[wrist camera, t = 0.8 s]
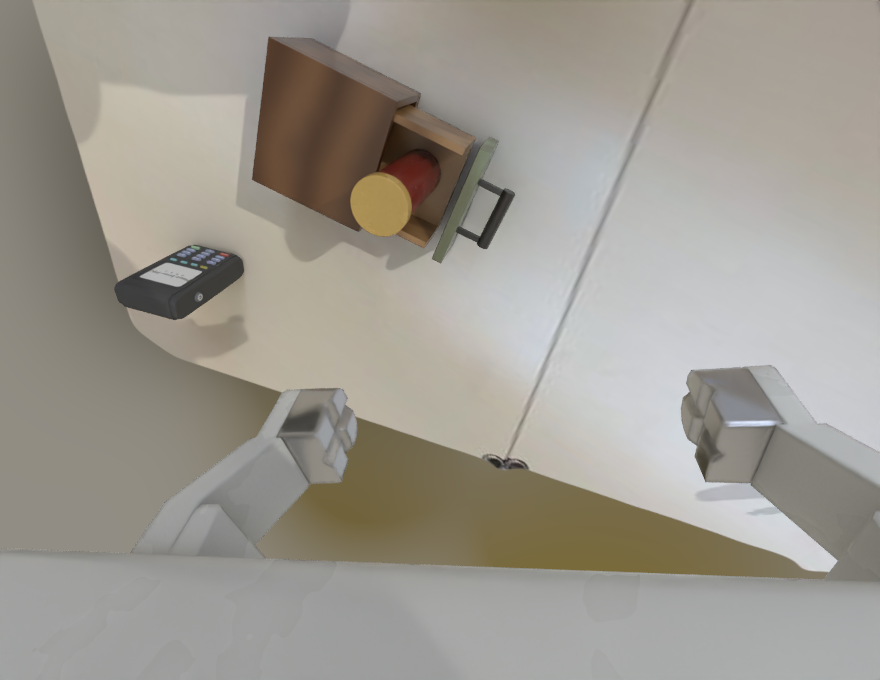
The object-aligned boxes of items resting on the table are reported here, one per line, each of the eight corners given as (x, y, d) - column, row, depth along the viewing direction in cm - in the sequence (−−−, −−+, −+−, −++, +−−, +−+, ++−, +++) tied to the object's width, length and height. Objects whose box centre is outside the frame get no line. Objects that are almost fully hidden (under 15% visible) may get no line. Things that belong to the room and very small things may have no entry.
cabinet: (421, 93, 48) (397, 101, 41) (383, 209, 57) (358, 232, 50) (311, 38, 48) (268, 36, 41) (290, 163, 57) (251, 179, 50)
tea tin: (395, 145, 50) (346, 173, 39) (443, 147, 49) (406, 176, 38) (398, 195, 53) (353, 234, 42) (443, 197, 52) (409, 239, 41)
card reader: (244, 253, 66) (173, 298, 54) (247, 276, 69) (180, 324, 57) (191, 240, 67) (109, 282, 55) (196, 263, 70) (118, 308, 58)
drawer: (532, 158, 48) (528, 172, 43) (481, 256, 56) (472, 279, 51) (398, 90, 48) (377, 96, 42) (366, 199, 56) (344, 216, 50)
